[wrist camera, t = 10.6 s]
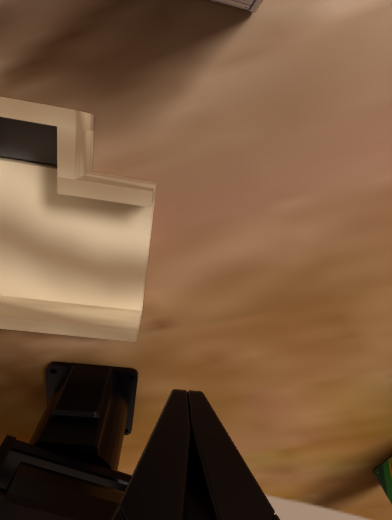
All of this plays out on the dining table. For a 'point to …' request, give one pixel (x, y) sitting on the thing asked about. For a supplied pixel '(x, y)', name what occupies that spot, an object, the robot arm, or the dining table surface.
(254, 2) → the medicine box
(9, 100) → the trap tray
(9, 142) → the mats
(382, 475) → the crayon box
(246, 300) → the dining table surface
